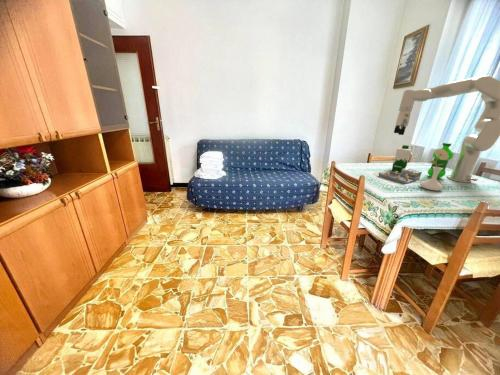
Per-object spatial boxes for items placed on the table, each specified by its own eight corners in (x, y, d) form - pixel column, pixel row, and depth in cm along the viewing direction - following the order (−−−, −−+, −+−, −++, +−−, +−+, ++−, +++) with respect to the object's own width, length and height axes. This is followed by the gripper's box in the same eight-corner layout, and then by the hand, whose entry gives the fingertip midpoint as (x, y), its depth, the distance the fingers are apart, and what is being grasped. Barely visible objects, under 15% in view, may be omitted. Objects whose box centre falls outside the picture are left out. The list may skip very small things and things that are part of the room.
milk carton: (405, 171, 165) (413, 146, 157) (402, 173, 159) (410, 147, 152) (393, 168, 171) (400, 144, 163) (389, 170, 165) (396, 145, 158)
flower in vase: (446, 193, 124) (463, 152, 115) (425, 191, 126) (439, 151, 117) (433, 185, 136) (447, 147, 126) (413, 183, 138) (426, 146, 129)
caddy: (415, 181, 142) (417, 175, 141) (404, 184, 137) (405, 178, 136) (389, 173, 157) (390, 168, 156) (378, 176, 152) (379, 171, 151)
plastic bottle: (444, 180, 145) (458, 145, 135) (425, 177, 151) (437, 143, 141) (443, 176, 152) (456, 143, 143) (425, 174, 158) (436, 141, 148)
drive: (419, 178, 148) (421, 171, 146) (414, 180, 146) (417, 172, 144) (404, 174, 156) (406, 167, 154) (400, 175, 154) (402, 168, 152)
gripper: (417, 109, 136) (409, 135, 143) (406, 108, 151) (399, 132, 158) (404, 109, 138) (396, 135, 145) (395, 108, 153) (388, 132, 160)
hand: (398, 133), depth 151 cm, fingers open, 9 cm apart
